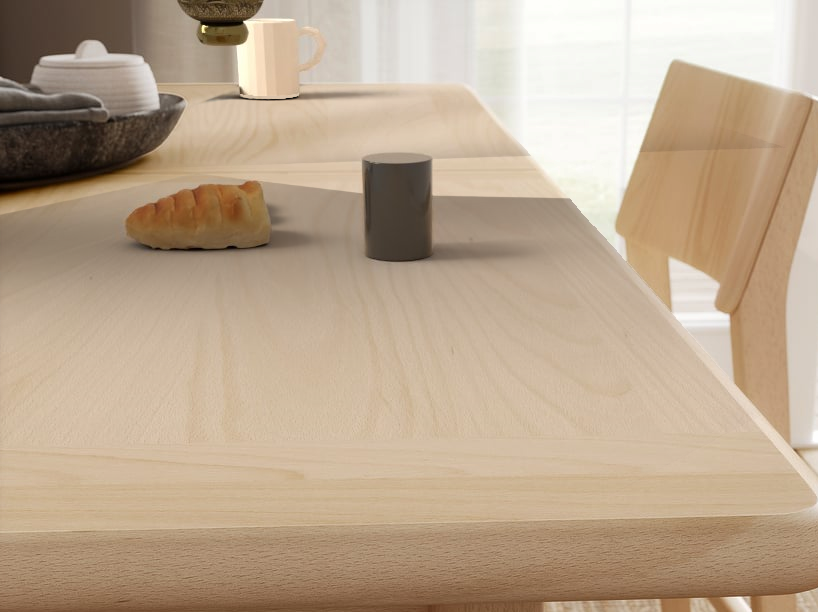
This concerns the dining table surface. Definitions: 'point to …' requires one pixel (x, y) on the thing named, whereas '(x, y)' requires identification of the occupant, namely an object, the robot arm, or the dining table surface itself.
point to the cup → (221, 19)
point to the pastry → (204, 218)
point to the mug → (274, 57)
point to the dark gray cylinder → (397, 206)
